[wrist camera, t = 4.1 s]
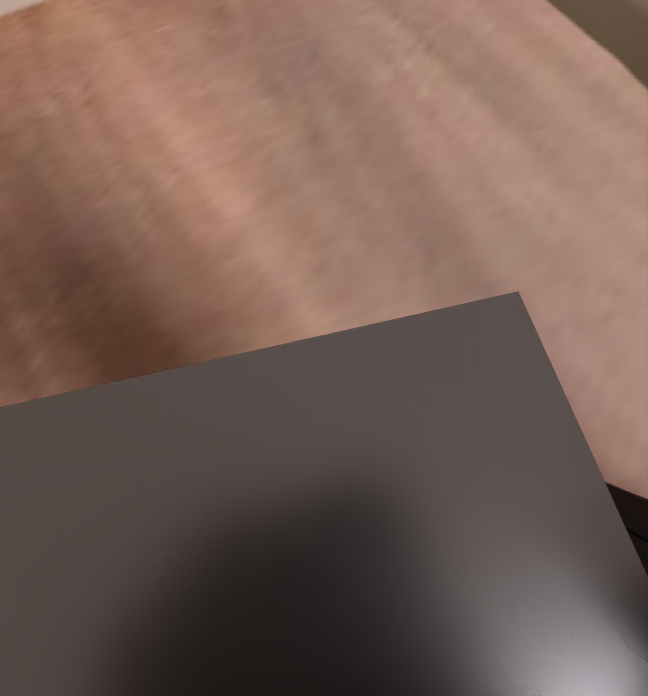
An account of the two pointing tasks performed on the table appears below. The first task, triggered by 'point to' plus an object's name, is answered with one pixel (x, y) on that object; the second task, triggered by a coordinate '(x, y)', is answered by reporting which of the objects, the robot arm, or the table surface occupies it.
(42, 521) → the bar
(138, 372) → the table surface
